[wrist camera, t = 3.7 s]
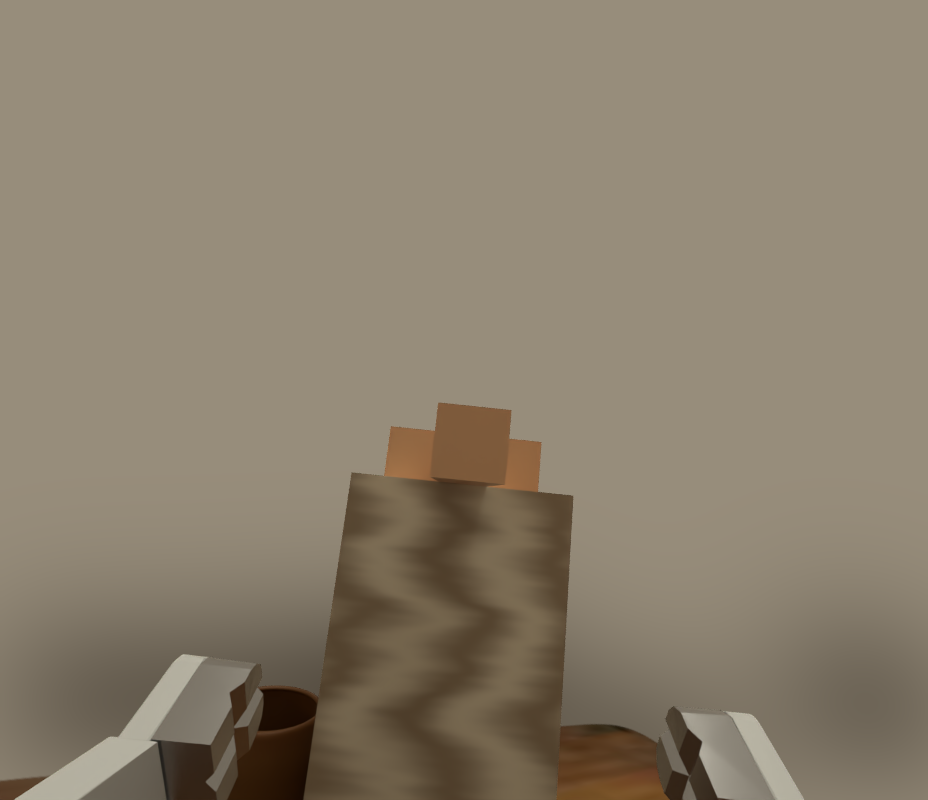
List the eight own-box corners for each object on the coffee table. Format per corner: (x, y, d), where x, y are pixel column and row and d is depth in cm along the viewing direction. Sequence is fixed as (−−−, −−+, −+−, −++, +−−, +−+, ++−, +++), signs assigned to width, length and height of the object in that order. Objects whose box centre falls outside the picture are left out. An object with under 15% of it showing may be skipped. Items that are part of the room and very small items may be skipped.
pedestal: (277, 974, 24) (351, 472, 29) (335, 816, 36) (381, 477, 41) (544, 1002, 24) (573, 495, 29) (515, 834, 36) (539, 494, 41)
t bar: (316, 464, 18) (332, 367, 19) (392, 478, 41) (398, 433, 42) (618, 496, 18) (622, 397, 19) (527, 492, 41) (531, 447, 42)
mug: (79, 889, 28) (118, 715, 30) (165, 806, 35) (192, 671, 37) (273, 924, 27) (300, 742, 29) (319, 831, 34) (339, 691, 36)
